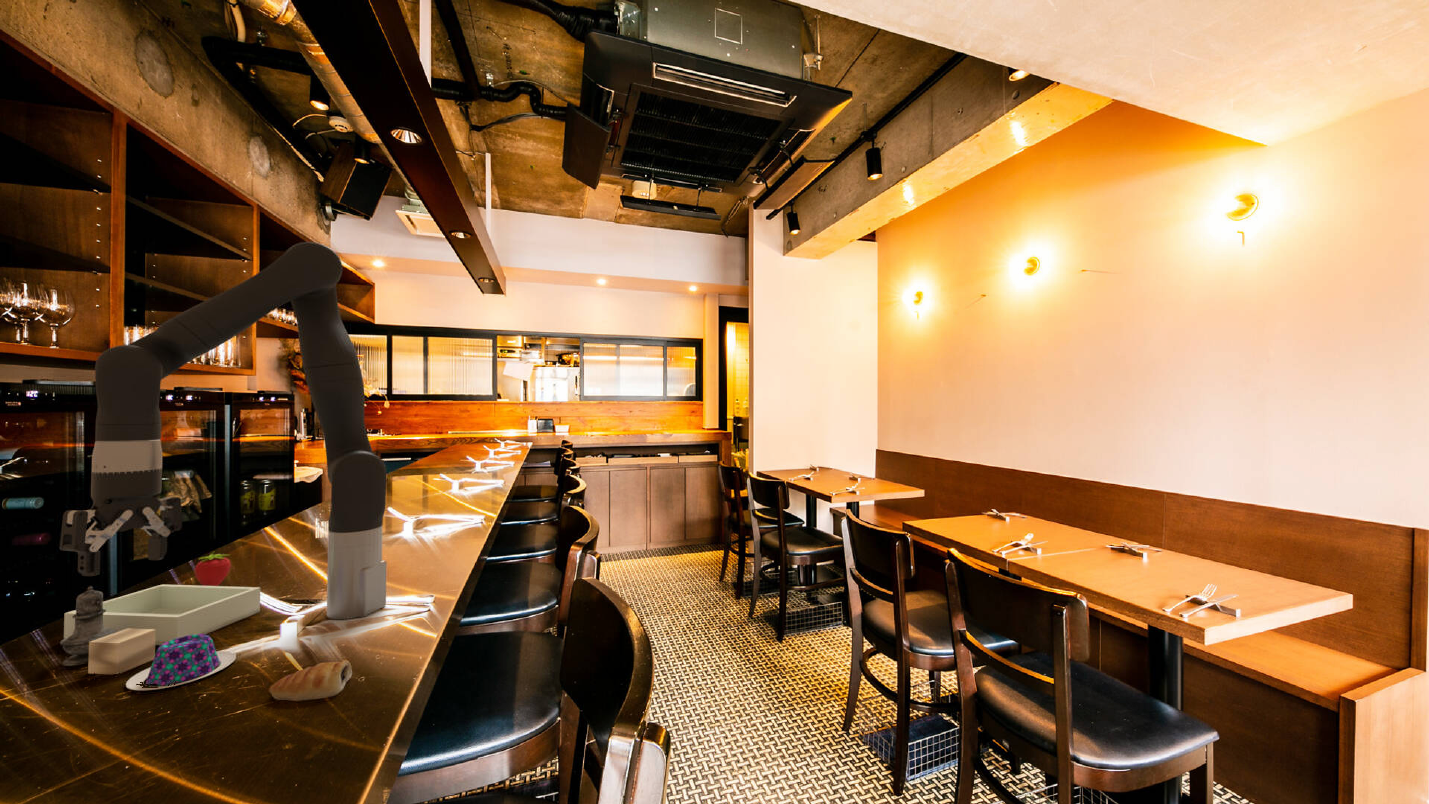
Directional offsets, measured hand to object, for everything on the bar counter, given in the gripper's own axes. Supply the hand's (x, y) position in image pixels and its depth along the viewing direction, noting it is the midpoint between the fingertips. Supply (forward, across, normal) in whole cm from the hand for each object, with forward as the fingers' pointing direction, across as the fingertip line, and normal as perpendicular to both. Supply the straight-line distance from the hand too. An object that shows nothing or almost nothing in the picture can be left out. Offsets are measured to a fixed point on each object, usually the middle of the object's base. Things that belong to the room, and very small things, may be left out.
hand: (125, 567), depth 82 cm
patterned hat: (+16, -1, -12) cm, 21 cm away
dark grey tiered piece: (+16, +2, +9) cm, 19 cm away
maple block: (+16, 0, 0) cm, 16 cm away
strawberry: (+16, +32, +21) cm, 41 cm away
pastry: (+16, -4, -37) cm, 41 cm away
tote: (+16, +14, +10) cm, 24 cm away
